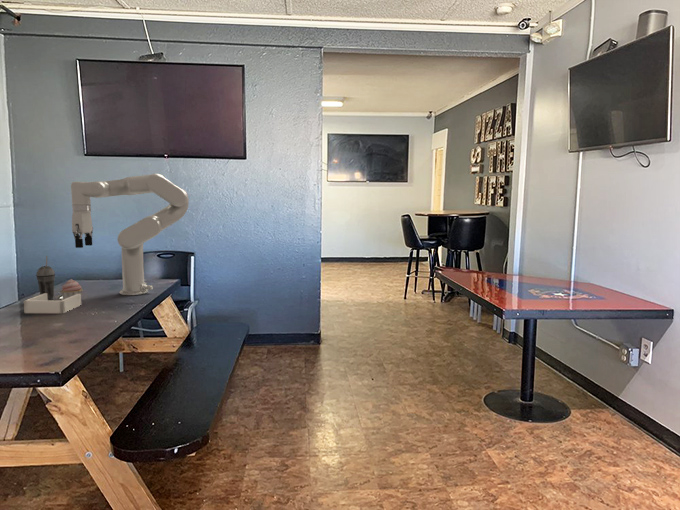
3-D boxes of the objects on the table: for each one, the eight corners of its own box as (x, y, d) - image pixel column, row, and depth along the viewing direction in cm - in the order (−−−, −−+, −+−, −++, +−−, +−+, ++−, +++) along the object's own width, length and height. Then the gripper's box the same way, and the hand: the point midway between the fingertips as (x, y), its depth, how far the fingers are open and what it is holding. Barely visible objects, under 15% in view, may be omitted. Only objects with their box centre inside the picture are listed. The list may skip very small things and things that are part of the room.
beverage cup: (33, 301, 215) (30, 256, 212) (48, 298, 222) (45, 254, 219) (46, 303, 213) (43, 257, 210) (60, 299, 220) (57, 255, 217)
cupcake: (74, 303, 212) (73, 281, 211) (55, 302, 214) (53, 280, 212) (88, 299, 221) (87, 277, 220) (70, 298, 223) (69, 276, 221)
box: (81, 305, 210) (80, 293, 209) (63, 313, 196) (62, 301, 195) (45, 304, 210) (44, 293, 209) (24, 313, 196) (23, 300, 195)
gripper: (83, 207, 233) (85, 244, 236) (63, 209, 216) (65, 248, 218) (98, 208, 233) (101, 244, 236) (80, 209, 216) (82, 248, 219)
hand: (84, 246), depth 227 cm, fingers open, 8 cm apart
